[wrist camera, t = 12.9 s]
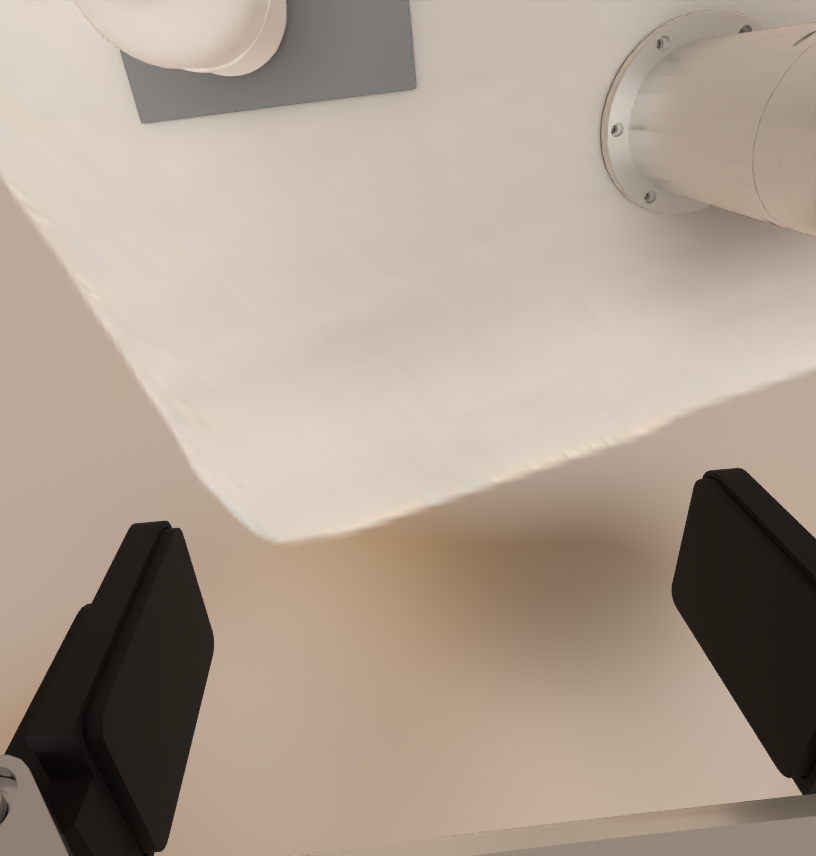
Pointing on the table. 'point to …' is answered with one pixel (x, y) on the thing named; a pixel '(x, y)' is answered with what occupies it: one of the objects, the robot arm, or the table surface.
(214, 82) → the board
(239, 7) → the water bottle
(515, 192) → the table surface
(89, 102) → the table surface
